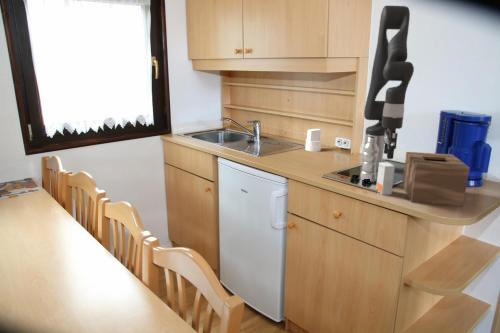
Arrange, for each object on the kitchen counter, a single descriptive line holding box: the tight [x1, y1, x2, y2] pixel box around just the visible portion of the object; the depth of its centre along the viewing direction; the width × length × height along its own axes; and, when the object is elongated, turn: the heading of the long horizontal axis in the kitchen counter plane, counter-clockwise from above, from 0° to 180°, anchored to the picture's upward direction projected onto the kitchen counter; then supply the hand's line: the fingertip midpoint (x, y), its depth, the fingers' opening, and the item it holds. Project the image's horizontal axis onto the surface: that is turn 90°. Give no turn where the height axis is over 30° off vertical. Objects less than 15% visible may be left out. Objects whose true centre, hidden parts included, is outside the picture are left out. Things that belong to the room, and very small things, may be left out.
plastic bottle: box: [360, 137, 379, 183], centre depth 165 cm, size 6×7×20 cm
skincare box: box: [375, 161, 396, 196], centre depth 153 cm, size 6×4×12 cm
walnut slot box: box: [401, 151, 471, 207], centre depth 150 cm, size 20×18×15 cm
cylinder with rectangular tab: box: [305, 128, 322, 152], centre depth 224 cm, size 9×9×12 cm
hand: (388, 156), depth 150 cm, fingers open, 8 cm apart
